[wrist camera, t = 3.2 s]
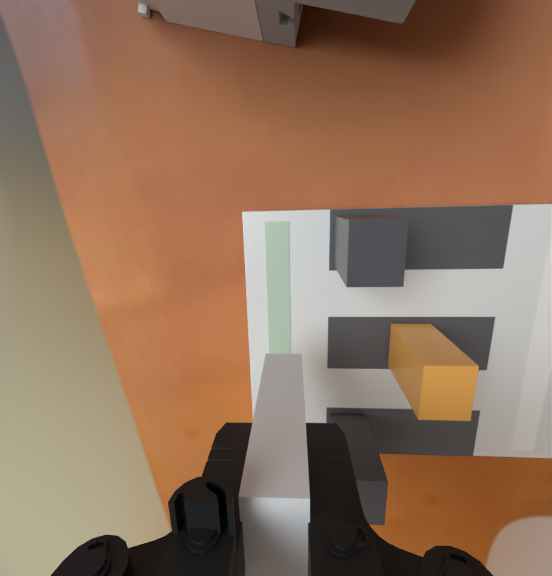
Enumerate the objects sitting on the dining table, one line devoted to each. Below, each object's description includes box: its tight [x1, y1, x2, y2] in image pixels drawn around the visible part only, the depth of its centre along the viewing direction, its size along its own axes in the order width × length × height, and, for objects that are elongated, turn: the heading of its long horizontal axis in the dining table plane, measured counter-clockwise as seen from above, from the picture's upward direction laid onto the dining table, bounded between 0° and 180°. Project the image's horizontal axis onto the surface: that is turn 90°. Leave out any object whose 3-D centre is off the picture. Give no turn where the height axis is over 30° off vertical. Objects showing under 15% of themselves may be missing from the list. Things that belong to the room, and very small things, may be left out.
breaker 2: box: [330, 414, 388, 525], centre depth 16 cm, size 2×2×4 cm
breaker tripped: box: [388, 324, 479, 421], centre depth 14 cm, size 2×2×4 cm
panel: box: [242, 203, 552, 458], centre depth 18 cm, size 17×14×3 cm
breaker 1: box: [334, 215, 409, 287], centre depth 13 cm, size 2×2×4 cm
